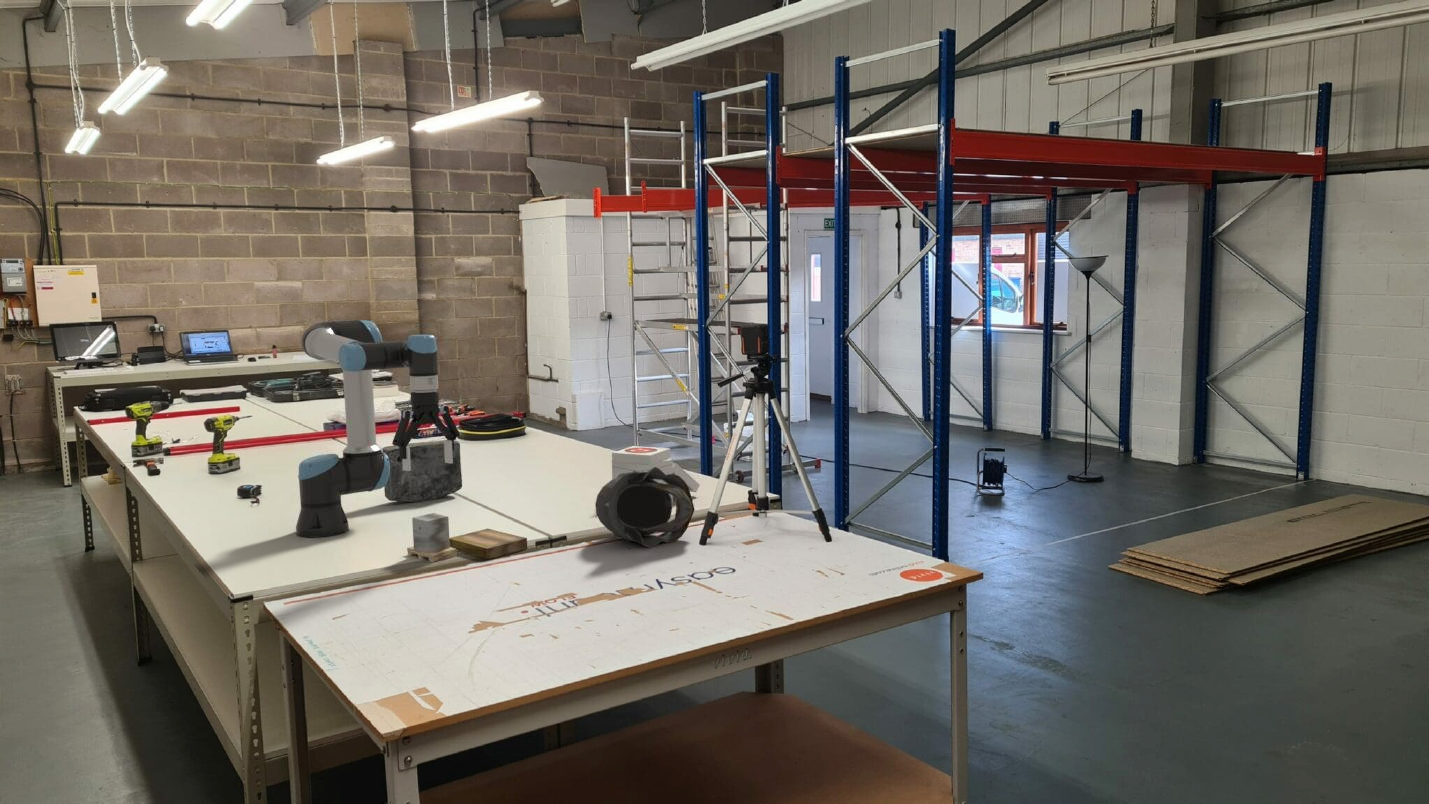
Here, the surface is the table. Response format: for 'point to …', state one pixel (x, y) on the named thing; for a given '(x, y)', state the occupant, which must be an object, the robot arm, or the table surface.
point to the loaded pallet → (431, 537)
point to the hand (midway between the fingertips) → (428, 466)
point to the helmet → (645, 507)
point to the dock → (488, 543)
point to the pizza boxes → (649, 464)
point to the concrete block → (423, 472)
